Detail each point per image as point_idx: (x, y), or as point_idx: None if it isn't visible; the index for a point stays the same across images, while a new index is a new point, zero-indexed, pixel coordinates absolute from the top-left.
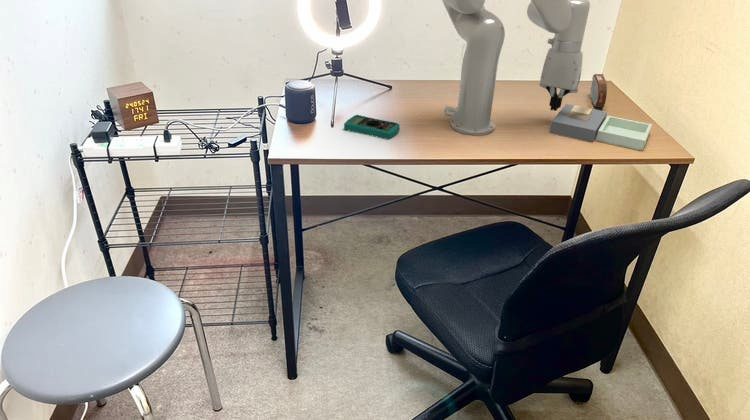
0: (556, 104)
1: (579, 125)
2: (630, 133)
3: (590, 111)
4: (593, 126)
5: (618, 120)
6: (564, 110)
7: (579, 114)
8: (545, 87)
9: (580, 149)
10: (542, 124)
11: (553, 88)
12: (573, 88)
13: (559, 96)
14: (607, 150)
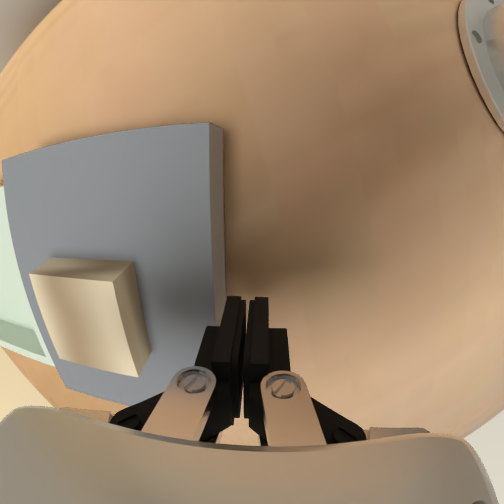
0: (224, 322)
1: (54, 168)
2: (4, 297)
3: (44, 321)
4: (16, 204)
5: (30, 347)
6: (197, 351)
7: (69, 271)
8: (372, 435)
9: (64, 54)
10: (290, 228)
11: (281, 441)
12: (15, 410)
13: (202, 378)
14: (3, 124)
